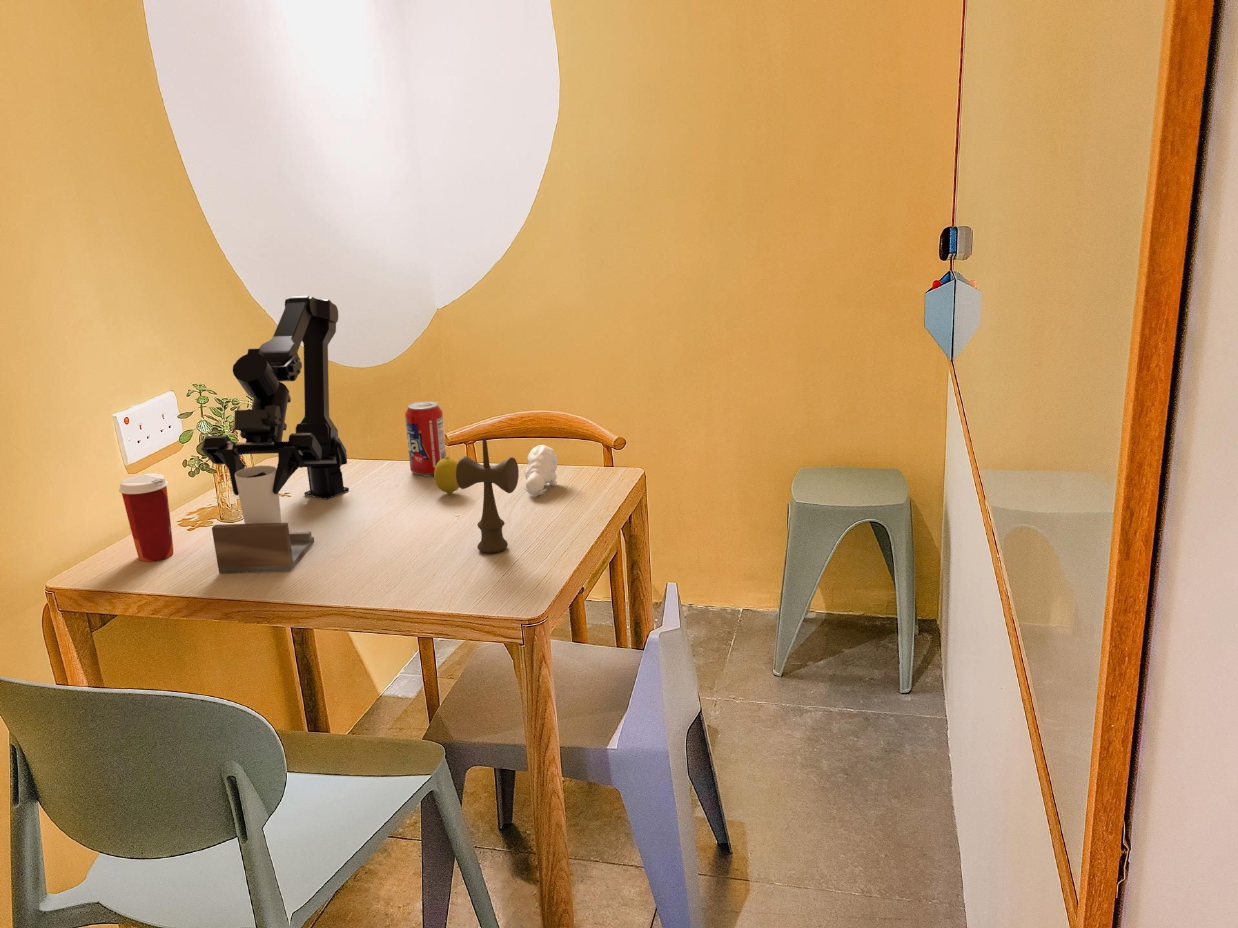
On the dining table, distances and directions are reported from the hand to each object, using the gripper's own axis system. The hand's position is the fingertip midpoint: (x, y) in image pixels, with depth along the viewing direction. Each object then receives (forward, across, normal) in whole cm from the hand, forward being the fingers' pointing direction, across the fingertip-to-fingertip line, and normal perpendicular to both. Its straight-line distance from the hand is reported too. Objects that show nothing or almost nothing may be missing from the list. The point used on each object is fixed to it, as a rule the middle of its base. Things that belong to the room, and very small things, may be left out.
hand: (255, 493), depth 167 cm
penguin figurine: (-15, +44, +33) cm, 57 cm away
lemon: (-14, +26, +32) cm, 43 cm away
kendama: (+7, +38, +10) cm, 40 cm away
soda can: (-25, +19, +43) cm, 53 cm away
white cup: (+4, 0, +6) cm, 7 cm away
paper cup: (+6, -20, +11) cm, 24 cm away
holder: (+8, 0, +9) cm, 12 cm away
